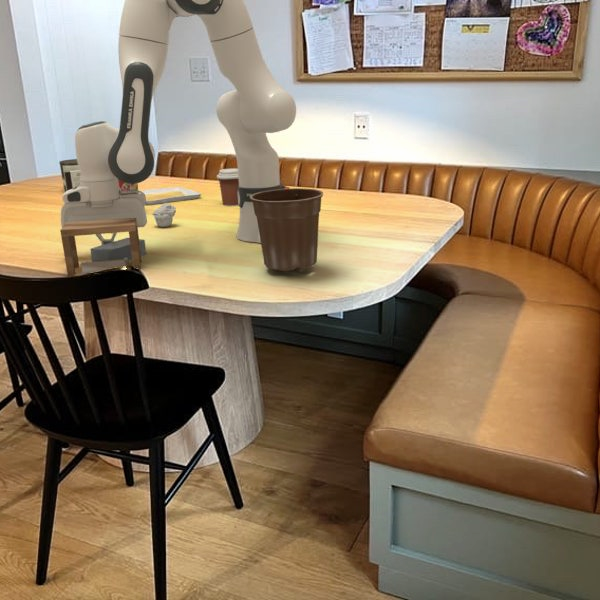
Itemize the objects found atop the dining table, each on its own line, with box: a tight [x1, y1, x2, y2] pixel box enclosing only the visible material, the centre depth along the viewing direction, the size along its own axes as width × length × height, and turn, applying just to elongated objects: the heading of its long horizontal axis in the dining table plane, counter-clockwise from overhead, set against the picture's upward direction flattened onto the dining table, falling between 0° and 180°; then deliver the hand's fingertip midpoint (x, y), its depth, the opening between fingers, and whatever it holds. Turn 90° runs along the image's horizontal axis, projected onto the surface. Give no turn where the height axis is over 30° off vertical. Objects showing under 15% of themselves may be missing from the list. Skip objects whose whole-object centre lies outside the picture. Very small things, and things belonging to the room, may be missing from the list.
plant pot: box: [250, 187, 324, 272], centre depth 143 cm, size 16×16×16 cm
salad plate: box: [138, 186, 202, 206], centre depth 229 cm, size 21×21×3 cm
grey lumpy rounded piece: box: [151, 202, 177, 228], centre depth 186 cm, size 6×7×7 cm
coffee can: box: [58, 158, 80, 193], centre depth 240 cm, size 10×10×14 cm
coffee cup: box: [216, 168, 239, 207], centre depth 214 cm, size 9×9×12 cm
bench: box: [59, 218, 143, 277], centre depth 146 cm, size 8×16×10 cm, turn 101°
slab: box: [90, 237, 147, 262], centre depth 155 cm, size 12×6×4 cm, turn 149°
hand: (108, 246), depth 158 cm, fingers closed
